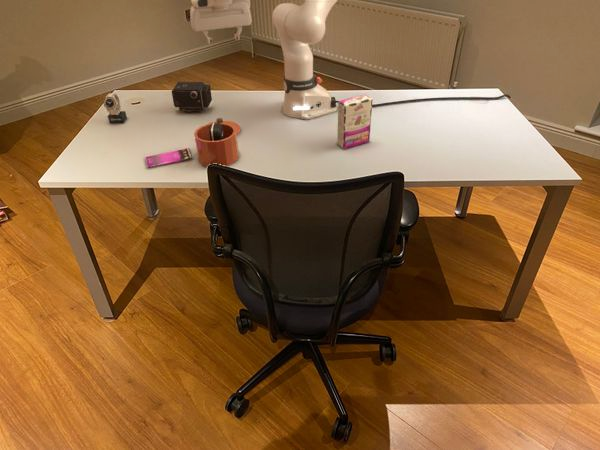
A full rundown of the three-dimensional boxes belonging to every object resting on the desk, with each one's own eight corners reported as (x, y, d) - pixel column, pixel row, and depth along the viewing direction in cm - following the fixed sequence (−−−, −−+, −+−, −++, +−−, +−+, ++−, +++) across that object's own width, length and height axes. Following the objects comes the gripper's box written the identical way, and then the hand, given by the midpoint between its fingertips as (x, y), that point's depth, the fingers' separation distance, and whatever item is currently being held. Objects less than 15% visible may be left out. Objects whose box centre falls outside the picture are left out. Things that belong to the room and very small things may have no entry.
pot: (233, 144, 158) (230, 120, 152) (243, 162, 148) (240, 137, 142) (195, 151, 154) (191, 127, 148) (203, 170, 145) (198, 145, 139)
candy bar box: (361, 136, 161) (365, 93, 151) (369, 142, 158) (373, 98, 147) (335, 143, 157) (337, 100, 147) (343, 149, 154) (345, 105, 143)
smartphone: (192, 159, 150) (192, 157, 149) (148, 168, 146) (147, 166, 145) (189, 149, 155) (188, 147, 155) (146, 158, 151) (145, 155, 151)
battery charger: (225, 161, 148) (220, 130, 141) (213, 161, 148) (208, 130, 141) (226, 150, 154) (222, 120, 146) (216, 151, 154) (211, 120, 146)
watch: (108, 125, 171) (99, 98, 164) (115, 116, 178) (107, 90, 171) (122, 125, 171) (114, 98, 164) (129, 116, 177) (121, 90, 170)
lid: (235, 120, 173) (233, 108, 170) (244, 136, 162) (243, 124, 159) (198, 127, 169) (196, 114, 166) (205, 144, 158) (203, 131, 155)
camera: (175, 118, 178) (211, 114, 176) (167, 91, 171) (204, 87, 169) (182, 107, 186) (216, 103, 184) (174, 81, 179) (209, 77, 177)
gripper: (246, -8, 147) (250, 35, 156) (185, -2, 141) (193, 42, 150) (252, -4, 142) (255, 40, 151) (189, 2, 137) (196, 48, 146)
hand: (224, 41), depth 150 cm, fingers open, 8 cm apart
